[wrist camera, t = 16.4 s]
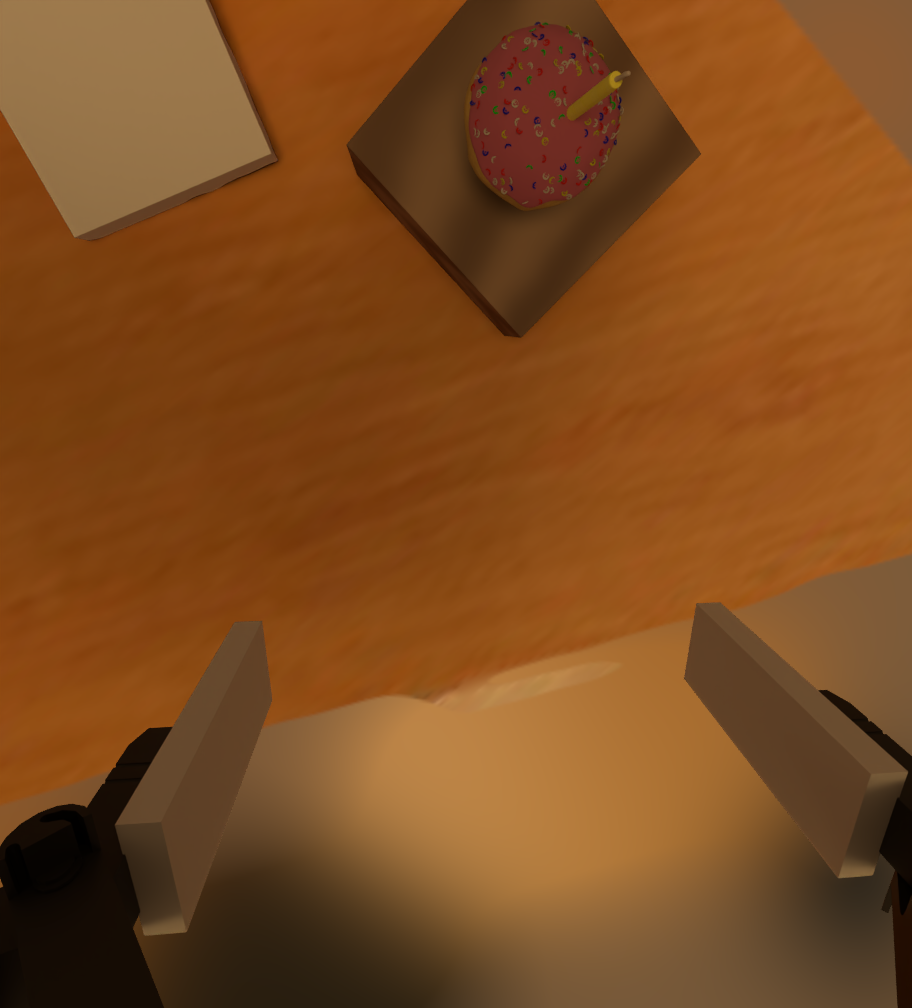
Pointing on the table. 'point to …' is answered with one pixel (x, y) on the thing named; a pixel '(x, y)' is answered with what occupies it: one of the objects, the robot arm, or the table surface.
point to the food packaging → (126, 106)
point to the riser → (479, 211)
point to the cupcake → (541, 116)
